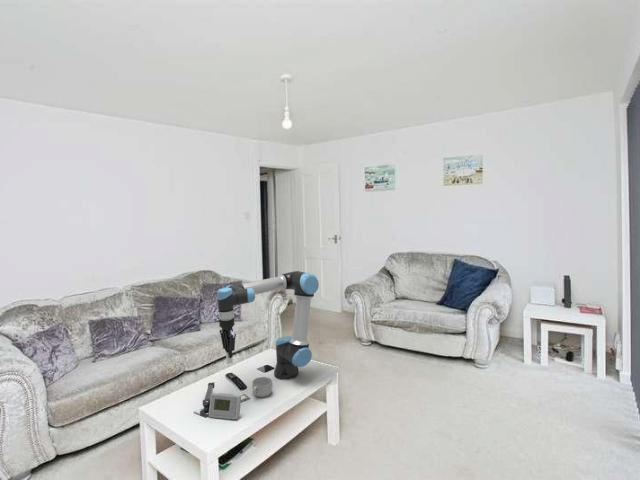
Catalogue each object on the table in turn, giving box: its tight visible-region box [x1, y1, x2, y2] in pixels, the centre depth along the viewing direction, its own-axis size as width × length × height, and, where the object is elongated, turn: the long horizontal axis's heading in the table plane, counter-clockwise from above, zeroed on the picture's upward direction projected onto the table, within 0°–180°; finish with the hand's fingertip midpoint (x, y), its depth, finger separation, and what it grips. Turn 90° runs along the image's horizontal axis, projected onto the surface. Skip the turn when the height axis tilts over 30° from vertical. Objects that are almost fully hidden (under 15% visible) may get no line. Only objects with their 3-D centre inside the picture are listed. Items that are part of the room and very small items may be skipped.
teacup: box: [252, 376, 273, 398], centre depth 199 cm, size 14×11×8 cm
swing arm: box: [202, 382, 215, 407], centre depth 192 cm, size 22×4×2 cm, turn 10°
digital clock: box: [208, 392, 242, 421], centre depth 179 cm, size 16×9×11 cm, turn 67°
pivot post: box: [199, 406, 209, 417], centre depth 183 cm, size 7×7×4 cm
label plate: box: [240, 393, 251, 403], centre depth 196 cm, size 8×6×1 cm
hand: (229, 363), depth 188 cm, fingers closed
